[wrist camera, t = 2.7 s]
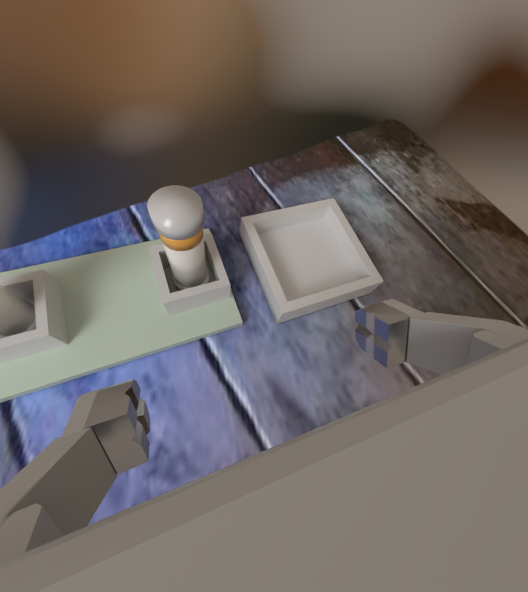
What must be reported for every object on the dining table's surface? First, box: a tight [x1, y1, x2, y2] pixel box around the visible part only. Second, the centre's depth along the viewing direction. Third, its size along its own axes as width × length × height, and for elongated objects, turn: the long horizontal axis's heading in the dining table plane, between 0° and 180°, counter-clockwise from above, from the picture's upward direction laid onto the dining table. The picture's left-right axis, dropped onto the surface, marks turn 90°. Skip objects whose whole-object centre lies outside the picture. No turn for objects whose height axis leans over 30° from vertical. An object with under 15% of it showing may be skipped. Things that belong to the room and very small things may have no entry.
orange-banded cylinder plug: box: [148, 185, 210, 291], centre depth 23 cm, size 4×4×11 cm
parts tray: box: [240, 198, 383, 324], centre depth 31 cm, size 12×12×3 cm
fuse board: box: [0, 228, 243, 403], centre depth 26 cm, size 12×22×4 cm, turn 111°
